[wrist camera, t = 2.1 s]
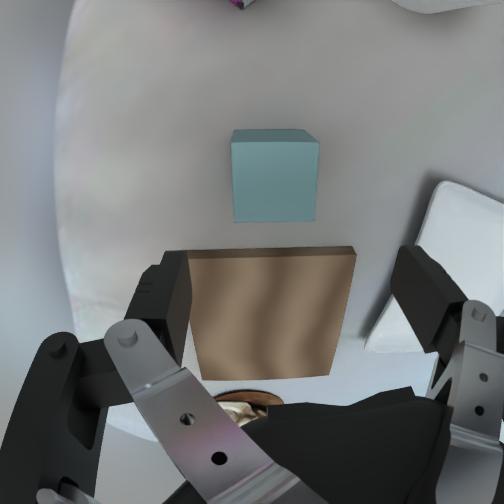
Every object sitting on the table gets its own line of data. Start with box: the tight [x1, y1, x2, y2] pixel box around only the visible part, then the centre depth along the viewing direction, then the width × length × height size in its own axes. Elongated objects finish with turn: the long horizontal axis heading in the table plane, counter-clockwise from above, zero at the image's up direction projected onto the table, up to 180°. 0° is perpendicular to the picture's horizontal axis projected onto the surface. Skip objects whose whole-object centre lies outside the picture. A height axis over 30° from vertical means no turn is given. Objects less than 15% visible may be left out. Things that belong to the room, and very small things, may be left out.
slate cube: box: [231, 129, 319, 223], centre depth 22 cm, size 6×6×6 cm
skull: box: [215, 392, 284, 427], centre depth 42 cm, size 12×10×10 cm
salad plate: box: [364, 181, 504, 352], centre depth 30 cm, size 21×21×3 cm
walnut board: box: [187, 246, 357, 381], centre depth 33 cm, size 16×18×2 cm
